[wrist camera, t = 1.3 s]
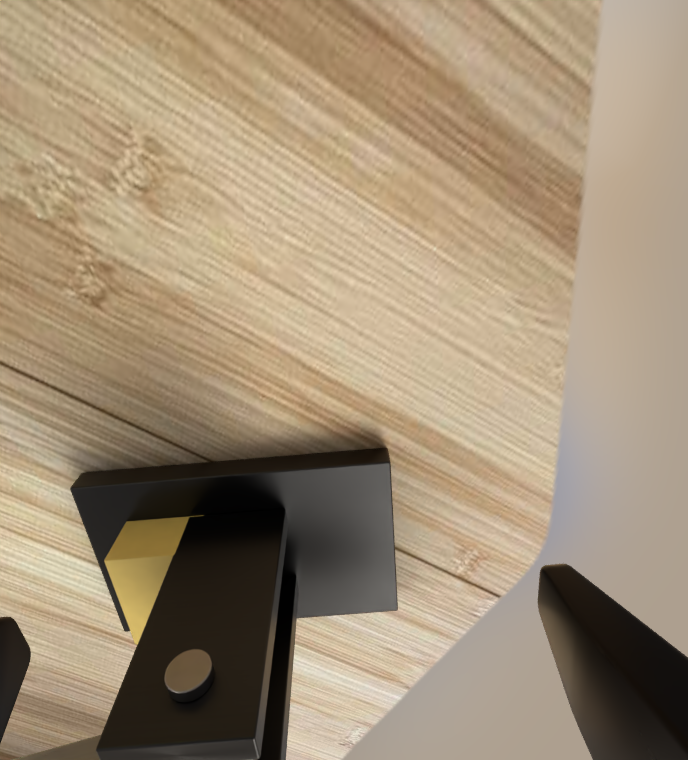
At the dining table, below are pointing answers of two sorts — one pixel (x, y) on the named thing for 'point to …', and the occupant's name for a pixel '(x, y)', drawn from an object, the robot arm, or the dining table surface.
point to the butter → (142, 565)
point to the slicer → (238, 591)
